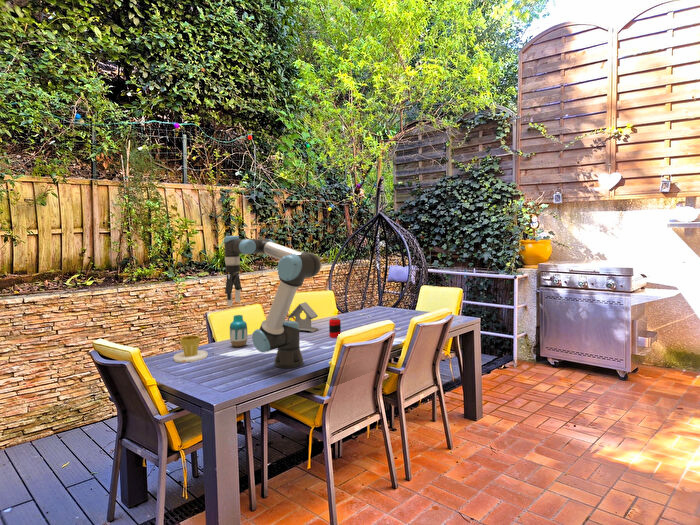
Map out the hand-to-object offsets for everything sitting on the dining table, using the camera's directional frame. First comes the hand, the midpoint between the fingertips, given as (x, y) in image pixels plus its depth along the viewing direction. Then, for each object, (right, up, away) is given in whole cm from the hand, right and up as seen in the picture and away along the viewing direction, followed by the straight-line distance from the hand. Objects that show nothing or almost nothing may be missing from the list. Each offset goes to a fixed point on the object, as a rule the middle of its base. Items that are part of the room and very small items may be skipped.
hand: (234, 303), depth 233 cm
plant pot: (-27, -30, +10) cm, 41 cm away
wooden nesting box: (+30, -27, +74) cm, 84 cm away
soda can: (+53, -27, +55) cm, 81 cm away
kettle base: (-27, -32, +10) cm, 43 cm away
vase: (-6, -30, +34) cm, 46 cm away
